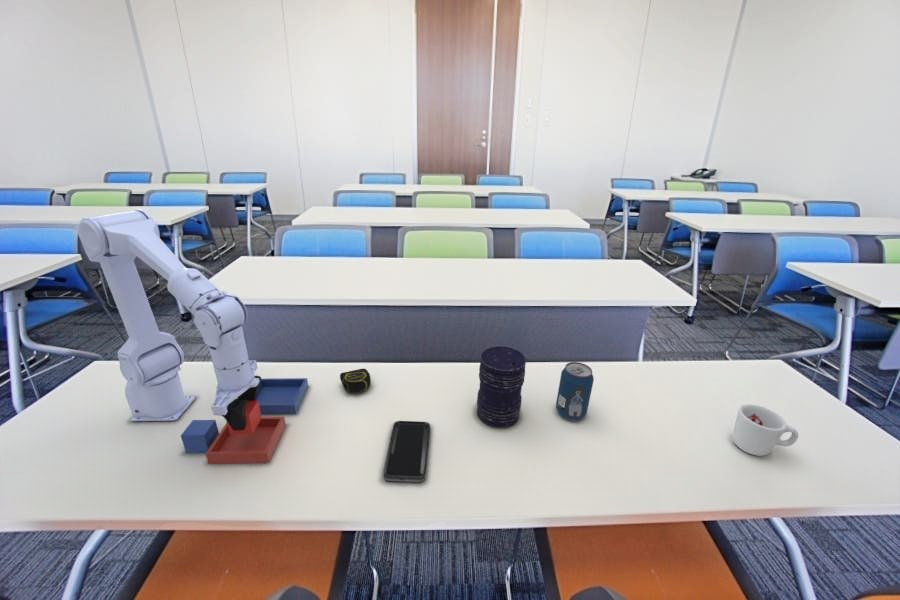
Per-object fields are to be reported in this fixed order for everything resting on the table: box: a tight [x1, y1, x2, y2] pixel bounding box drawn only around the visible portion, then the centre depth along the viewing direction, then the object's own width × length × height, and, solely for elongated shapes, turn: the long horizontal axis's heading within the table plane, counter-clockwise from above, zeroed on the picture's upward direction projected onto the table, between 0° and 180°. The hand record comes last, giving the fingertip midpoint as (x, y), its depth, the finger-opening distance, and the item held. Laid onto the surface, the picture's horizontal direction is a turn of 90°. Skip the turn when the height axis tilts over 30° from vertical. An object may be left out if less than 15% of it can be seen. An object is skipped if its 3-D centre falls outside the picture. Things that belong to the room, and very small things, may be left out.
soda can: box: [555, 361, 595, 422], centre depth 89 cm, size 7×7×12 cm
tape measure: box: [339, 368, 372, 394], centre depth 97 cm, size 7×7×4 cm
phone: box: [382, 420, 431, 483], centre depth 79 cm, size 8×1×15 cm
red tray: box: [205, 416, 287, 465], centre depth 80 cm, size 11×10×2 cm
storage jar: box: [476, 346, 527, 429], centre depth 88 cm, size 10×10×15 cm
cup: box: [732, 403, 799, 457], centre depth 82 cm, size 11×8×8 cm
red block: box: [226, 401, 262, 434], centre depth 77 cm, size 4×4×4 cm
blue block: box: [180, 419, 220, 454], centre depth 79 cm, size 4×4×4 cm
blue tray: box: [256, 377, 309, 415], centre depth 92 cm, size 11×10×2 cm
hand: (244, 420), depth 78 cm, fingers closed on red block, 4 cm apart
